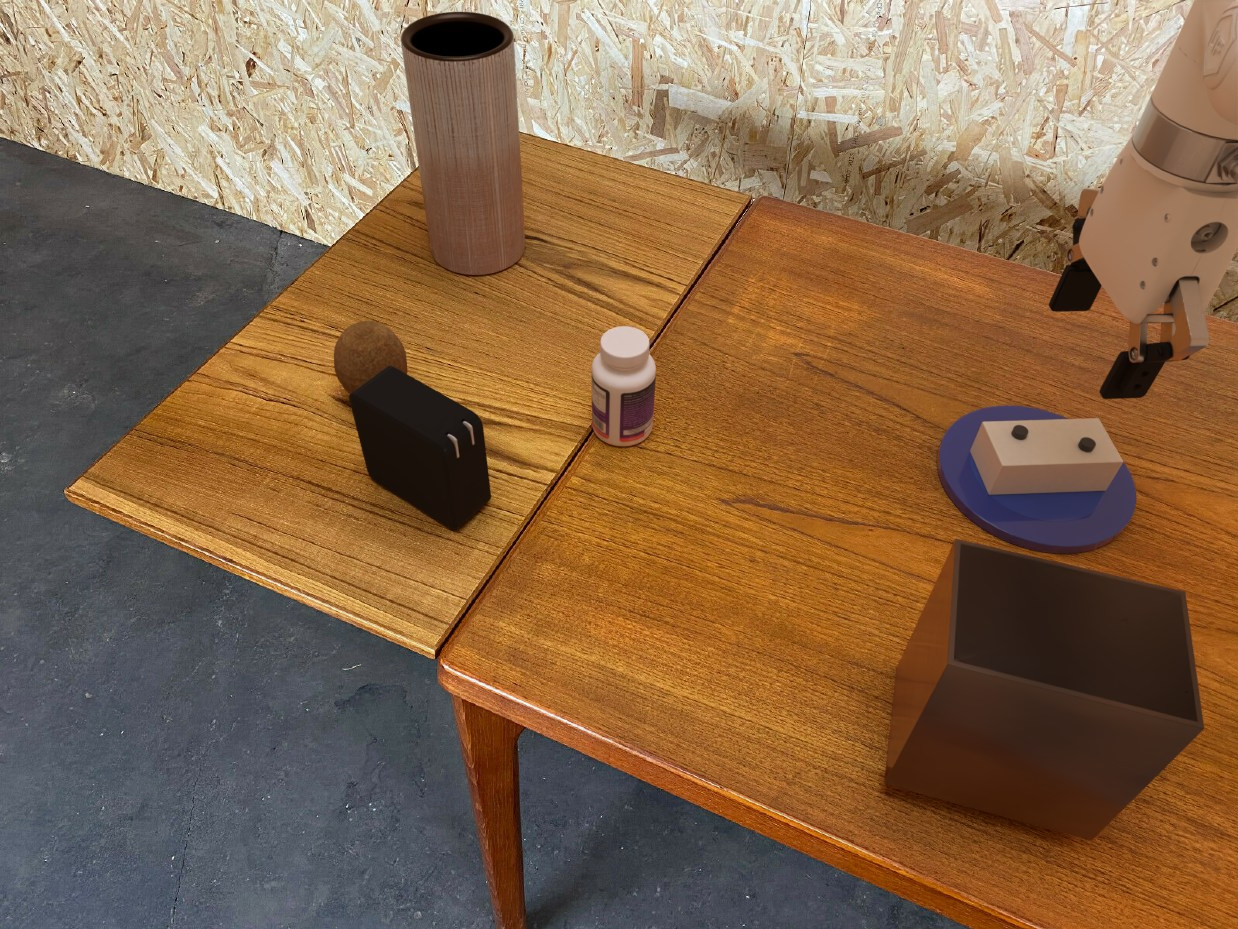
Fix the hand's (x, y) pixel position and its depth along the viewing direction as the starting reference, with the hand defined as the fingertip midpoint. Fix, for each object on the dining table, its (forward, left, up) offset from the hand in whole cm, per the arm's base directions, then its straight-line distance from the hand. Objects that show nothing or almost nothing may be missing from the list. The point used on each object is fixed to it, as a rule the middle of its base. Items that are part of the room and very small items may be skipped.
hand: (1093, 350), depth 71 cm
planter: (+57, -16, -14) cm, 61 cm away
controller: (0, 0, -13) cm, 13 cm away
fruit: (+57, +8, -14) cm, 59 cm away
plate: (0, 0, -14) cm, 14 cm away
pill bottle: (+35, +5, -14) cm, 38 cm away
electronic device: (+48, +17, -14) cm, 53 cm away
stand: (+3, +27, -14) cm, 30 cm away
